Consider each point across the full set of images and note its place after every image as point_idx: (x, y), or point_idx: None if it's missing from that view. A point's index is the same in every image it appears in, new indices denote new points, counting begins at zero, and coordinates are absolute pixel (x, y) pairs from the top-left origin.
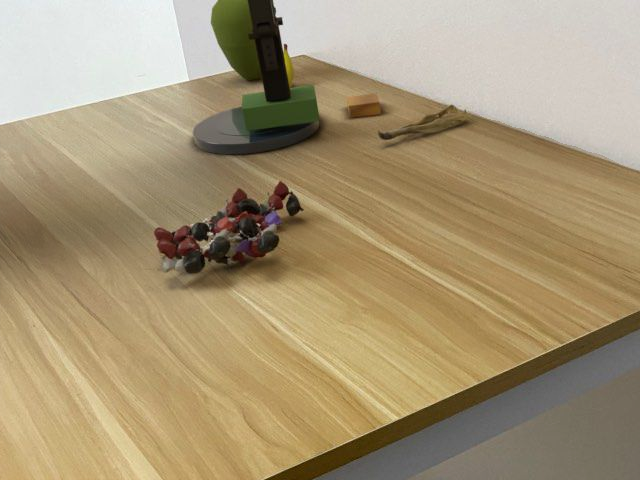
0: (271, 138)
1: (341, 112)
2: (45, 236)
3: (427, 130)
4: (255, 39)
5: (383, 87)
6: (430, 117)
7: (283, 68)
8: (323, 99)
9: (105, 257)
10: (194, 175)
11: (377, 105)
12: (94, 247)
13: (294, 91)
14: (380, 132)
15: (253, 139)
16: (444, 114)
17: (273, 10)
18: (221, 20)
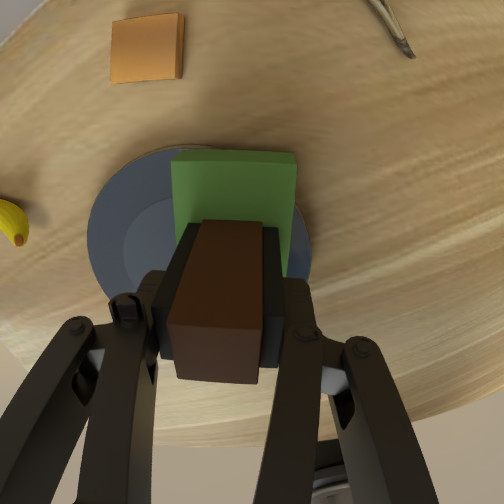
0: (305, 245)
1: (133, 96)
2: (408, 412)
3: None
4: (277, 366)
5: (27, 30)
6: None
7: (281, 263)
8: (48, 136)
9: (477, 370)
10: (349, 335)
11: (179, 18)
12: (456, 381)
13: (208, 209)
14: (413, 54)
15: (293, 273)
16: None
17: (142, 349)
18: None
